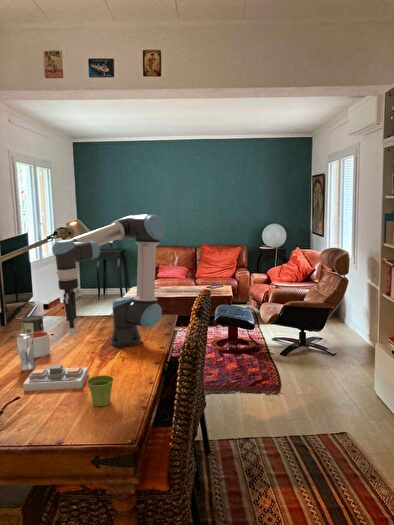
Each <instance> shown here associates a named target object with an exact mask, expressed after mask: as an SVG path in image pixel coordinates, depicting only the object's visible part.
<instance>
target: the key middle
mask: <svg viewBox="0 0 394 525" xmlns="http://www.w3.org/2000/svg"><path fill="white" fill-rule="evenodd" d="M63 367H64V366H63V364H52V365H51V366H50V368H49V369H50V373H52V372H61V370H62V369H63Z"/></svg>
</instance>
